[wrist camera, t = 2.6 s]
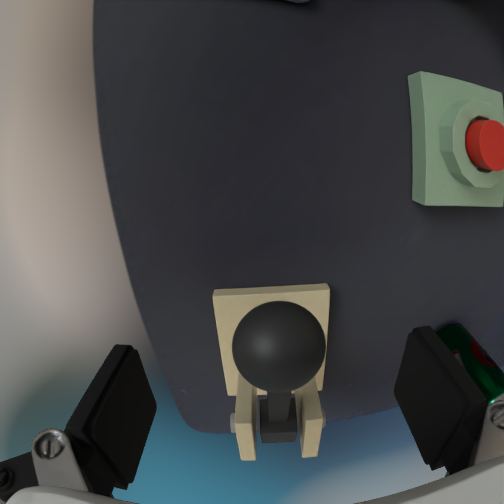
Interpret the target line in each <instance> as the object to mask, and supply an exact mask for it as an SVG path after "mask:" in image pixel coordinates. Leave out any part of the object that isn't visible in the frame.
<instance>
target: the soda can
mask: <svg viewBox="0 0 504 504" xmlns="http://www.w3.org/2000/svg"><path fill="white" fill-rule="evenodd" d="M436 334H437V335H438V336H439V338H440V339H441V340H442V341H443V342H444V344H445V345H446V346H447V347H448V349H449V350H450V351H451V352H452V354H453V355H454V356H455V357H456V359H457V360H458V361H459V362H460V364H461V365H462V366H463V368H464V369H465V370H466V372H467V373H468V374H469V375H470V377H471V378H472V379H473V381H474V382H475V383H476V385H477V386H478V388H479V389H480V390H481V392H482V393H483V394H484V396H485V397H486V399H487V400H486V403H487V404H488V406H489V404H490V403H492V402H494V401H497V400H504V373H503V371H502V370H501V369H500V368H499V366H498V365H497V364H496V363H495V362H494V360H493V359H492V358H491V357H490V356H489V355H488V353H487V352H486V351H485V350H484V349H483V348H482V347H481V345H480V344H479V343H478V342H477V341H476V340H475V339H474V338H473V336H472V335H471V334H470V333H469V332H468V331H467V330H466V329H465V328H464V327H463V326H462V325H461V324H458V323H454V324H449V325H446V326H444V327H442V328H441V329H439V330H438V331H437V332H436Z"/></svg>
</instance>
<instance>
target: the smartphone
mask: <svg viewBox="0 0 504 504" xmlns="http://www.w3.org/2000/svg"><path fill="white" fill-rule="evenodd" d="M287 1H291V2H296V3H305V2H308V1H310V0H287Z"/></svg>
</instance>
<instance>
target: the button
mask: <svg viewBox="0 0 504 504" xmlns="http://www.w3.org/2000/svg"><path fill="white" fill-rule="evenodd" d="M465 144H466V150H467V153H468V156H469V158H470V160H471V161H472V162H473V163H474V164H475V165H476V166H477V167H479V168H483V169H488V170H493V171H500V170H502V169H504V127H503V125H502V124H501V123H499V122H498V121H495V120H476V121H474V122H472V123H471V124H470V125H469V127H468V129H467V132H466V137H465Z"/></svg>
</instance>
